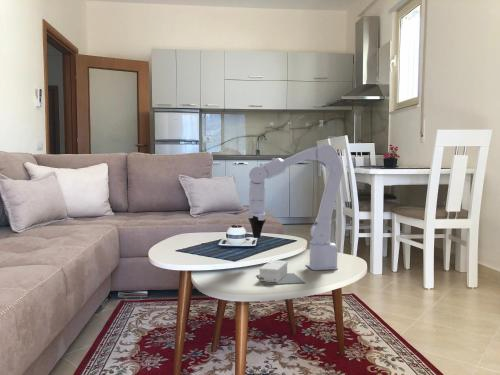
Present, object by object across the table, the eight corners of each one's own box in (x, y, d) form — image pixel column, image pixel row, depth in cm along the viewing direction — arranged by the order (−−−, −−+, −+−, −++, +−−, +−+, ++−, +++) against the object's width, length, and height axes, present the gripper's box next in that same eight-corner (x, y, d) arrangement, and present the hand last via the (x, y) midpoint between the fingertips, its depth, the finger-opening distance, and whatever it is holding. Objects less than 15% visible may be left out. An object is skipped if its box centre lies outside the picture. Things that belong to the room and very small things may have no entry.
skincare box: (287, 261, 140) (278, 268, 129) (287, 274, 140) (278, 283, 129) (269, 259, 142) (259, 267, 131) (269, 272, 142) (259, 281, 131)
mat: (293, 274, 141) (293, 273, 141) (304, 283, 130) (304, 282, 130) (256, 275, 138) (256, 274, 138) (264, 285, 128) (264, 284, 128)
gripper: (242, 198, 156) (241, 234, 157) (250, 202, 142) (250, 241, 143) (260, 198, 158) (260, 234, 159) (270, 202, 144) (270, 241, 145)
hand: (256, 237), depth 151 cm, fingers closed
